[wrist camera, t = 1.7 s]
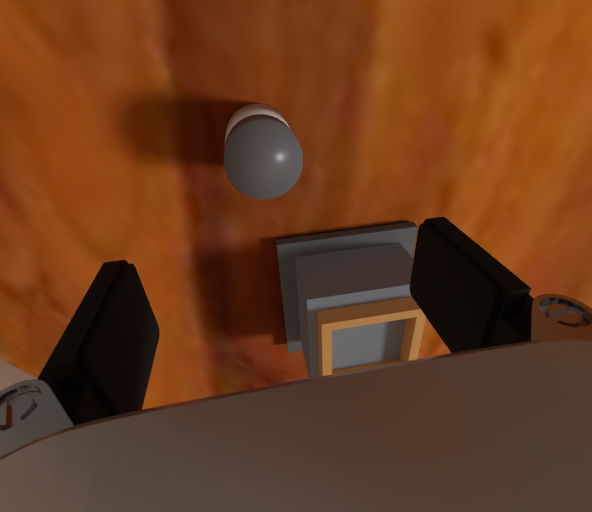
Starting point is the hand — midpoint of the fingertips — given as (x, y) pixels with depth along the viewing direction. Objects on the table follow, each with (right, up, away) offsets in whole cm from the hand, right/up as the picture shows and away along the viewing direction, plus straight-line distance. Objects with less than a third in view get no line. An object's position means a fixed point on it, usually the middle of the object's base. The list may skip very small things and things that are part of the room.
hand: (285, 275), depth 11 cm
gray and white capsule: (-3, +10, +14) cm, 17 cm away
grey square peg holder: (+5, -3, +24) cm, 24 cm away
